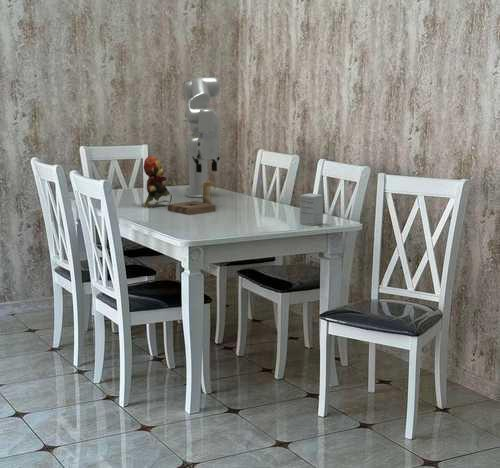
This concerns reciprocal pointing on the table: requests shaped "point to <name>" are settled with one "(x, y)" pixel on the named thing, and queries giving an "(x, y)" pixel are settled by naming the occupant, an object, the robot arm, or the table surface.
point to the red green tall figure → (155, 181)
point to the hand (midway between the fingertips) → (206, 171)
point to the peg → (206, 192)
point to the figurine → (210, 183)
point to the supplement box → (311, 209)
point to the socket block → (191, 207)
